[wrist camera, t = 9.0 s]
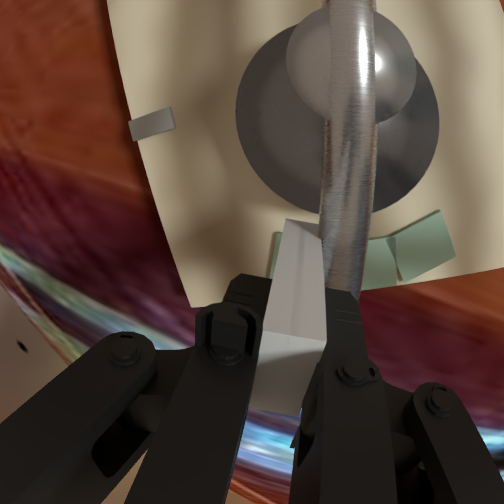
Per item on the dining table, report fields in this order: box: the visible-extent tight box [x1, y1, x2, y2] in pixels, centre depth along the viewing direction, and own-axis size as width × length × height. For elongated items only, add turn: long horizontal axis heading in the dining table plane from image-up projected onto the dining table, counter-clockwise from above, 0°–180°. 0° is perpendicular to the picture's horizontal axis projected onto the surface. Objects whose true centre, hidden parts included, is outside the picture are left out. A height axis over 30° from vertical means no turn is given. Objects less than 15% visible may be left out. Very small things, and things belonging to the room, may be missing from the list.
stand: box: [107, 0, 504, 307], centre depth 13 cm, size 22×23×5 cm
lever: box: [235, 0, 439, 303], centre depth 11 cm, size 21×9×7 cm, turn 1°
